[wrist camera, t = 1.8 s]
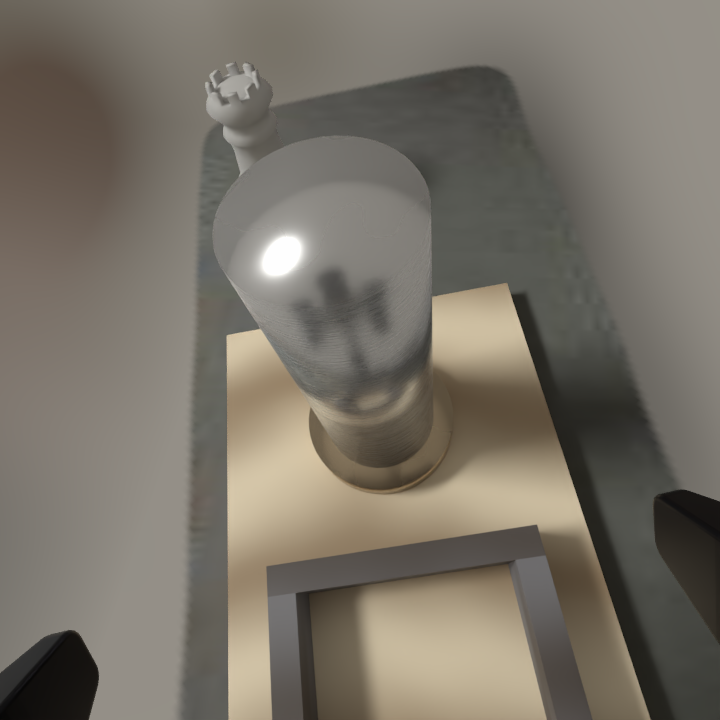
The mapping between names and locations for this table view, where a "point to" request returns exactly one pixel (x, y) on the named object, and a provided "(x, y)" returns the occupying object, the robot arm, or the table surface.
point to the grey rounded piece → (345, 300)
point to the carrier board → (417, 554)
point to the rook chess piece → (244, 113)
